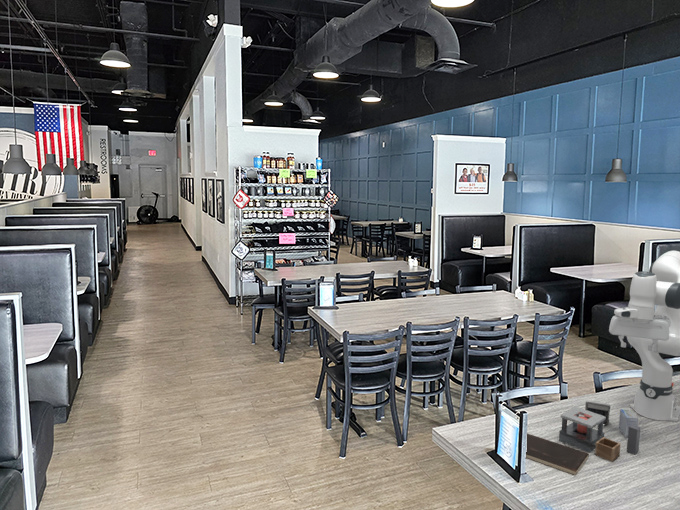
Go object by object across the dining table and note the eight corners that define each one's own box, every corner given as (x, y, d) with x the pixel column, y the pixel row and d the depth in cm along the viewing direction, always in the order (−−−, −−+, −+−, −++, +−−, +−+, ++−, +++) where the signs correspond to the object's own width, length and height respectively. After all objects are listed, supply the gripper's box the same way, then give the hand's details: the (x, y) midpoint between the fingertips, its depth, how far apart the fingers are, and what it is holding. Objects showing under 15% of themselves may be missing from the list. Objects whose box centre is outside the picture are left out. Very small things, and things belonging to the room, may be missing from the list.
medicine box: (637, 438, 200) (639, 418, 199) (624, 437, 201) (626, 417, 200) (630, 429, 208) (631, 409, 207) (618, 428, 209) (620, 408, 208)
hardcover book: (575, 477, 175) (576, 470, 175) (510, 453, 190) (511, 448, 190) (588, 458, 187) (589, 452, 187) (526, 437, 202) (527, 432, 202)
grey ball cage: (573, 430, 207) (575, 406, 205) (603, 442, 197) (605, 416, 196) (558, 440, 199) (560, 414, 197) (589, 452, 190) (592, 426, 188)
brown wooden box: (602, 449, 192) (603, 437, 192) (619, 456, 188) (620, 443, 187) (594, 454, 188) (595, 442, 188) (612, 461, 184) (613, 449, 183)
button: (579, 427, 200) (580, 415, 199) (588, 431, 197) (589, 418, 197) (575, 430, 198) (576, 418, 197) (584, 434, 195) (585, 421, 194)
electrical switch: (608, 422, 214) (610, 402, 212) (609, 428, 210) (610, 408, 208) (584, 417, 218) (585, 398, 216) (584, 423, 214) (585, 404, 212)
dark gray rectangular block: (629, 449, 193) (632, 424, 191) (638, 452, 190) (640, 427, 189) (626, 451, 191) (628, 426, 189) (635, 455, 188) (637, 429, 187)
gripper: (668, 315, 196) (664, 350, 196) (610, 309, 201) (606, 343, 202) (674, 318, 190) (670, 354, 190) (613, 311, 195) (610, 346, 196)
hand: (636, 348), depth 196 cm, fingers open, 8 cm apart
